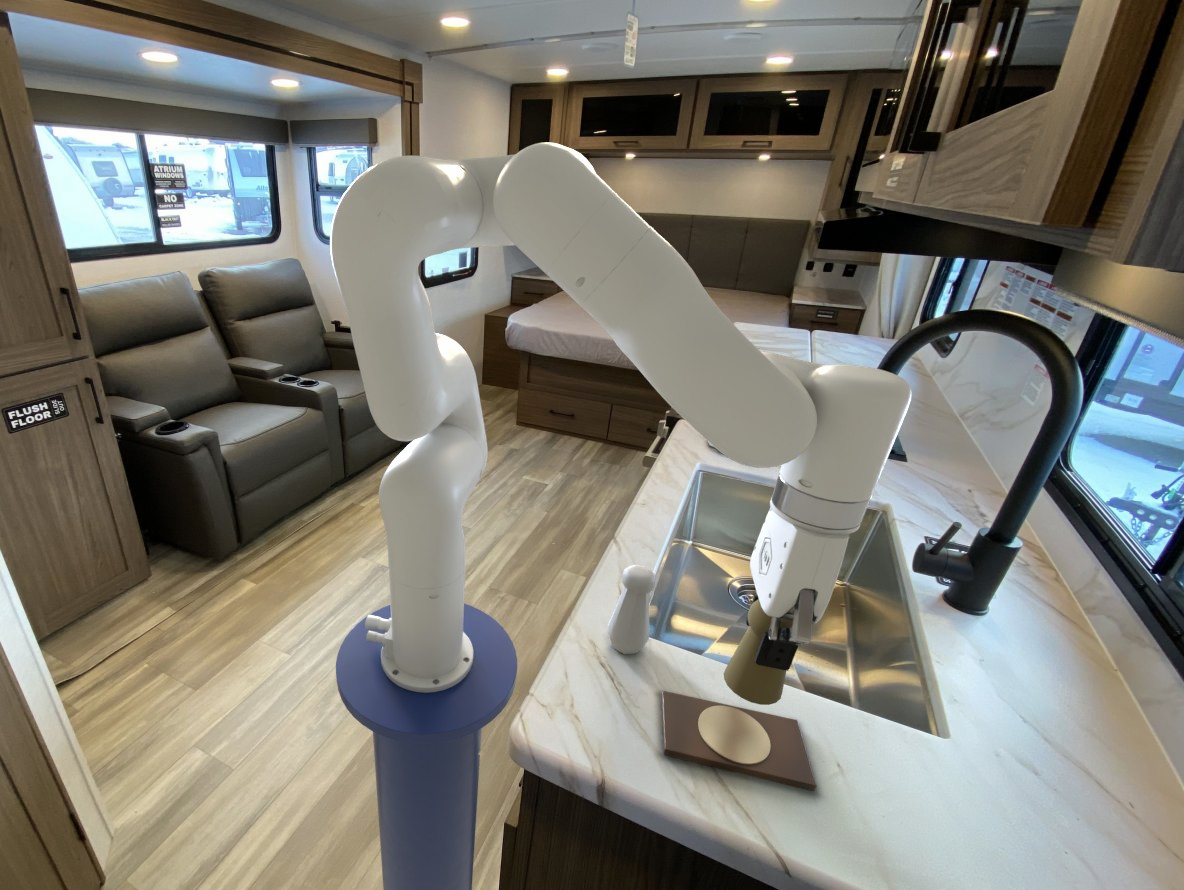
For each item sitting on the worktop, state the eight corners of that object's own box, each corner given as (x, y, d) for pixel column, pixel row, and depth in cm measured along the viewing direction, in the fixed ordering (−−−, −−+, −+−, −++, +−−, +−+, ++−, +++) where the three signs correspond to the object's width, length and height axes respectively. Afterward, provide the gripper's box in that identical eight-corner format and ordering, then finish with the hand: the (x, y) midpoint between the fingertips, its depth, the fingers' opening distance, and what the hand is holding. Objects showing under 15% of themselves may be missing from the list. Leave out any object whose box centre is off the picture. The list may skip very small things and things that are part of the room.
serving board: (663, 754, 67) (665, 748, 66) (660, 695, 74) (662, 688, 74) (814, 791, 63) (817, 784, 63) (795, 725, 71) (798, 718, 70)
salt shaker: (650, 640, 83) (668, 567, 77) (639, 665, 79) (657, 590, 73) (612, 625, 86) (625, 553, 80) (599, 648, 82) (612, 575, 76)
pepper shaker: (743, 707, 61) (771, 629, 56) (713, 665, 67) (736, 590, 61) (794, 701, 62) (826, 624, 57) (760, 660, 67) (787, 586, 62)
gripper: (758, 456, 62) (719, 590, 70) (795, 542, 47) (740, 698, 55) (835, 466, 60) (786, 602, 68) (899, 558, 45) (826, 717, 54)
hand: (766, 644), depth 62 cm, fingers closed on pepper shaker, 5 cm apart
